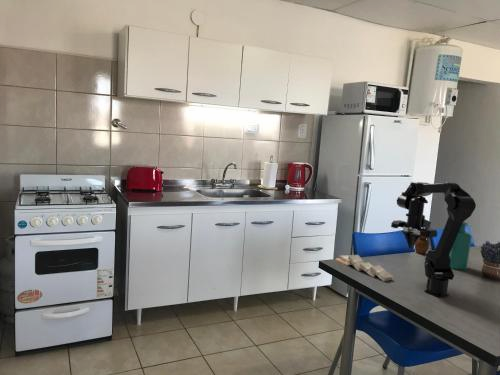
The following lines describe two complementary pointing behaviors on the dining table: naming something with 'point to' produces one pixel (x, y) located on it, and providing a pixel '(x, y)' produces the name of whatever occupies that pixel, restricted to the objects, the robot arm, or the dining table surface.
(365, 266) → the domino
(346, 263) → the domino
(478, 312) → the dining table surface
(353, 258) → the domino
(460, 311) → the dining table surface
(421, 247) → the wooden figurine
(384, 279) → the domino
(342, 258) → the domino
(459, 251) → the teal tall bottle
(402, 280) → the dining table surface
